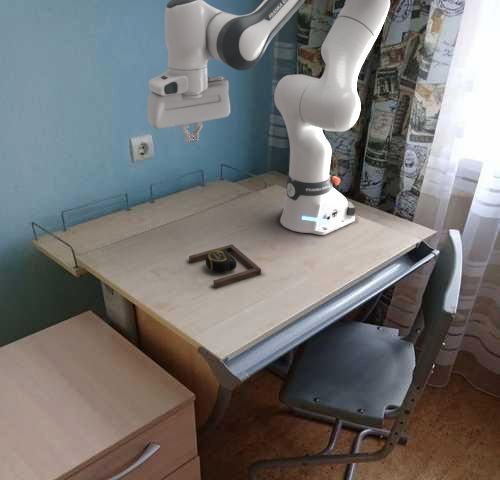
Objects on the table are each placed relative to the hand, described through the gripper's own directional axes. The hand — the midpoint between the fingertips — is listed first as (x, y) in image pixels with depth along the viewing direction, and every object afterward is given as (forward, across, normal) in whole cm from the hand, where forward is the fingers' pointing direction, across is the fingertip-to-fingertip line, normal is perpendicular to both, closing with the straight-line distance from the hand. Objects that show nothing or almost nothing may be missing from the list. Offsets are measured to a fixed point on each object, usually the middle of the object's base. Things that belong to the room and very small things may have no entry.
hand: (192, 141), depth 125 cm
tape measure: (+27, +2, +16) cm, 32 cm away
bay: (+27, +2, +17) cm, 32 cm away
